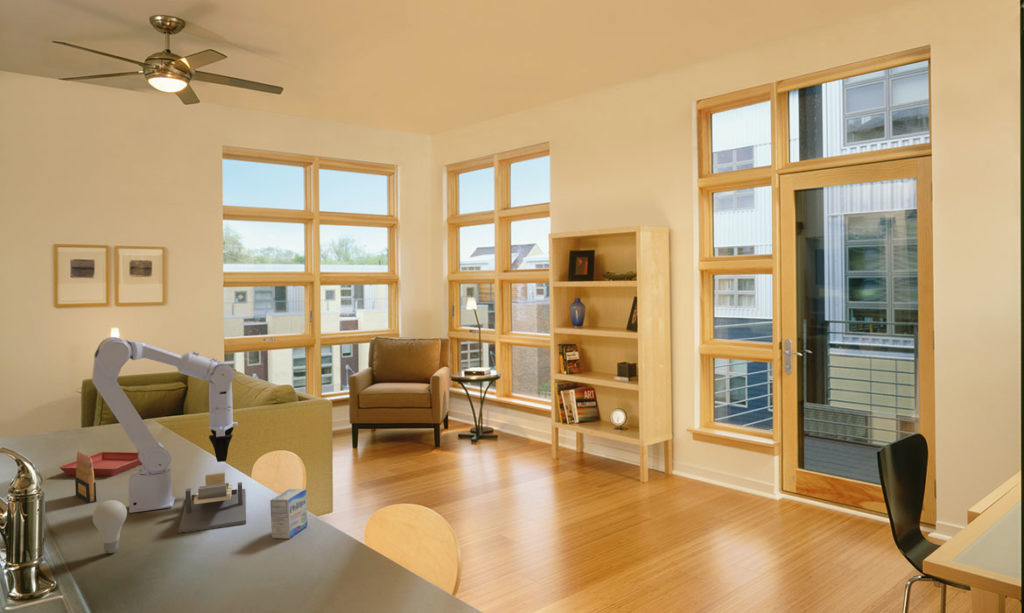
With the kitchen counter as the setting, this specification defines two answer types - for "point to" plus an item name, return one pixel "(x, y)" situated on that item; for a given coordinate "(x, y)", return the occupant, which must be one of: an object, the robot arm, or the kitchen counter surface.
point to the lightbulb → (110, 523)
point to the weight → (215, 479)
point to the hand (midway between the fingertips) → (222, 457)
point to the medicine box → (288, 513)
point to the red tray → (107, 463)
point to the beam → (214, 493)
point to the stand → (214, 512)
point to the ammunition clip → (85, 478)
